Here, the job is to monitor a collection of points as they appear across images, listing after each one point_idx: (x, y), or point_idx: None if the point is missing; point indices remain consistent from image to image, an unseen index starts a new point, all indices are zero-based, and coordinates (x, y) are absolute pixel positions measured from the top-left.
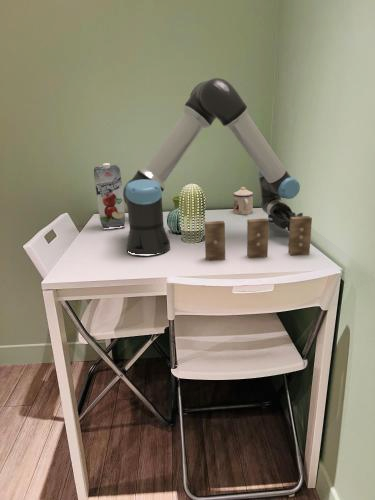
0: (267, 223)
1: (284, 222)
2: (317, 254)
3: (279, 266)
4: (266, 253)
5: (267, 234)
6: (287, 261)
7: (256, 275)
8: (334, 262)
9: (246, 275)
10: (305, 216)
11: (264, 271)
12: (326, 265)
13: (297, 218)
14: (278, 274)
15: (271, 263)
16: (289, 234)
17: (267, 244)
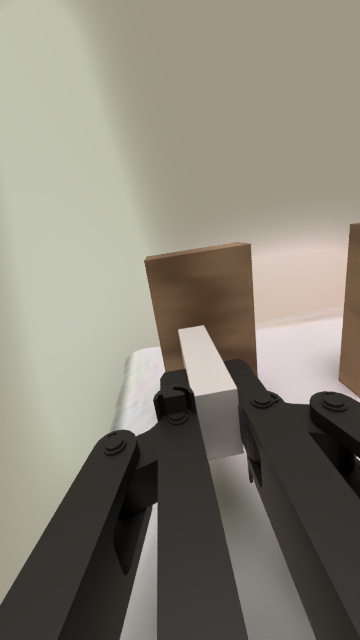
0: (353, 238)
1: (321, 396)
2: (144, 410)
3: (276, 342)
4: (343, 366)
5: (347, 289)
6: (257, 362)
7: (319, 315)
8: (127, 369)
9: (341, 313)
10: (165, 257)
11: (307, 325)
12: (156, 356)
13: (214, 246)
14: (272, 322)
15: (304, 350)
16: (254, 334)
17: (343, 332)
